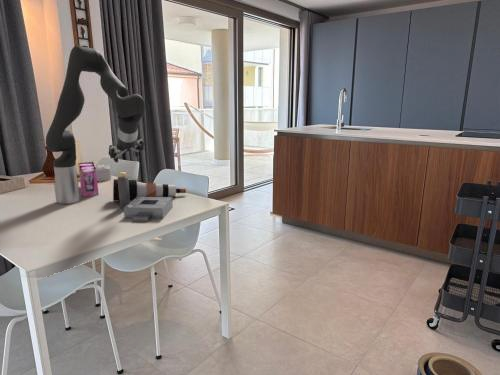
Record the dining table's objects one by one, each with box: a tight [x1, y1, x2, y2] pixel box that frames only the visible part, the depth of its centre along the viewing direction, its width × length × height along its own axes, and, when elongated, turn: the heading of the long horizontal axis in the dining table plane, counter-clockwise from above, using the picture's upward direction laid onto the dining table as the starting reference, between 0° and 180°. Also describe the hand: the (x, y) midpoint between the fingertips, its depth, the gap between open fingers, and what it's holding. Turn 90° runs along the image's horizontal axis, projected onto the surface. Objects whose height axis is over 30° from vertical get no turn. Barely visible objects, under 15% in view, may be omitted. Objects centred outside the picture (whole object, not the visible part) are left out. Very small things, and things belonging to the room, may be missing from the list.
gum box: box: [77, 161, 100, 197], centre depth 184 cm, size 24×8×14 cm, turn 27°
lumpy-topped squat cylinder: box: [94, 163, 112, 182], centre depth 212 cm, size 10×13×9 cm
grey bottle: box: [117, 171, 131, 210], centre depth 156 cm, size 4×4×16 cm
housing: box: [123, 197, 174, 223], centre depth 151 cm, size 16×24×4 cm, turn 178°
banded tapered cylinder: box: [112, 178, 187, 202], centre depth 171 cm, size 10×34×10 cm, turn 109°
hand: (125, 158), depth 153 cm, fingers open, 8 cm apart
